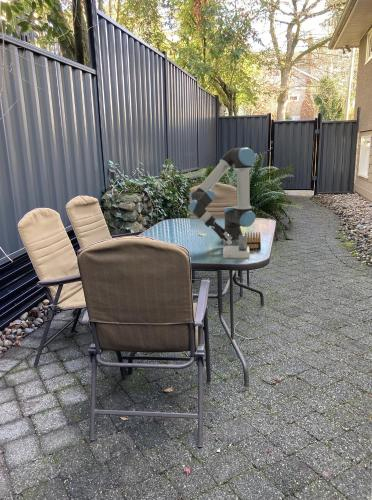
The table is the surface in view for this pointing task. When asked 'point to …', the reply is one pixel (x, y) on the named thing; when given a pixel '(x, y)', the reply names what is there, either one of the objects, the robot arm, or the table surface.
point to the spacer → (228, 238)
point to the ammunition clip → (254, 241)
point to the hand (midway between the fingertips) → (230, 241)
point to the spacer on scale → (242, 242)
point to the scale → (235, 252)
